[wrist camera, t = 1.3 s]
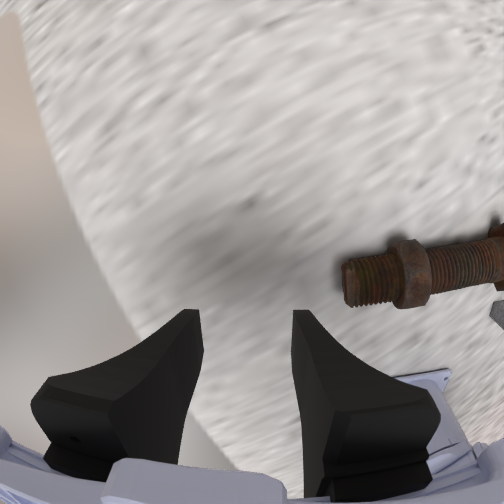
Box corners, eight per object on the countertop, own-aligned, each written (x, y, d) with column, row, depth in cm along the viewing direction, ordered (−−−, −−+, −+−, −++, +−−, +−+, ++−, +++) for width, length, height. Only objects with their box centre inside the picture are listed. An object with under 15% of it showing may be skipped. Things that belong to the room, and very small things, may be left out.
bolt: (334, 253, 23) (490, 232, 21) (342, 320, 22) (499, 289, 20) (345, 237, 17) (528, 214, 15) (357, 325, 16) (540, 283, 14)
